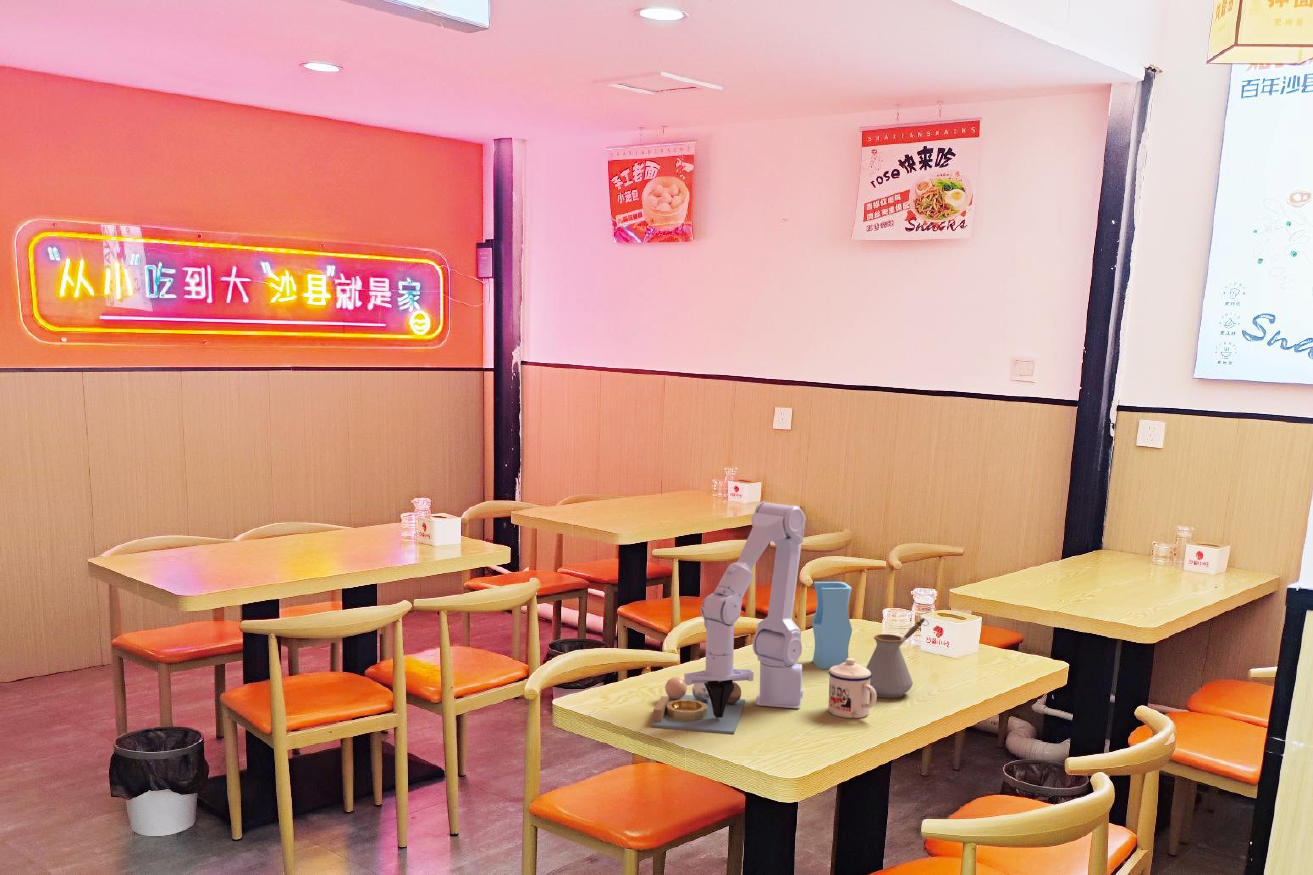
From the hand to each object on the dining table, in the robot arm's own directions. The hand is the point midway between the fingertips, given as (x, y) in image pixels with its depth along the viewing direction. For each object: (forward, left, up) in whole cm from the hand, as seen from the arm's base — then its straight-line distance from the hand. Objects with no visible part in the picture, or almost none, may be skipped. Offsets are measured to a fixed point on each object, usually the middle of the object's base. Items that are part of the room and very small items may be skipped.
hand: (718, 716), depth 223 cm
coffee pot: (-38, -33, -1) cm, 50 cm away
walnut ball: (-1, -11, +2) cm, 11 cm away
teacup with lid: (-28, -12, -1) cm, 30 cm away
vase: (-22, -49, -1) cm, 54 cm away
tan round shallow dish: (+7, -2, -1) cm, 7 cm away
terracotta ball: (+11, -11, +2) cm, 15 cm away
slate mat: (+4, -4, -1) cm, 6 cm away
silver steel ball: (+5, -11, +2) cm, 12 cm away
